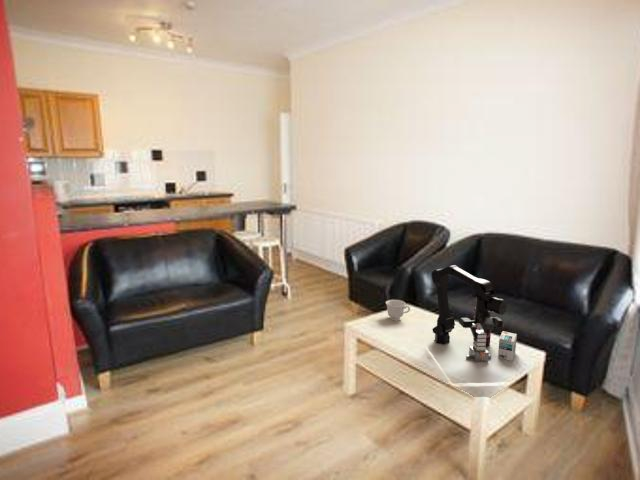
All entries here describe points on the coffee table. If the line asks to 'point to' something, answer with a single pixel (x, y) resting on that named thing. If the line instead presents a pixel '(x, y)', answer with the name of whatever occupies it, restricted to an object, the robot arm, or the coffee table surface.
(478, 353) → the stand base
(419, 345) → the coffee table surface
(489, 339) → the beverage can
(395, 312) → the teacup
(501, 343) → the light bulb box
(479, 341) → the column
